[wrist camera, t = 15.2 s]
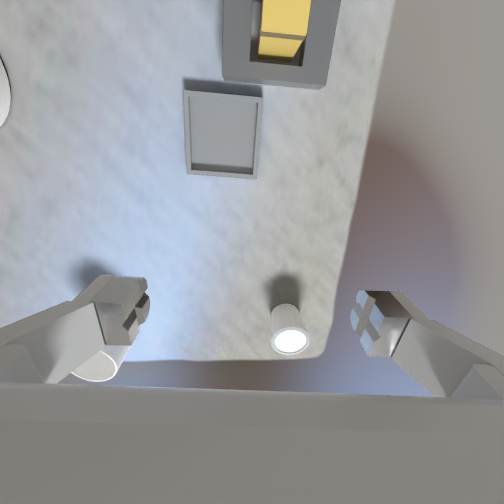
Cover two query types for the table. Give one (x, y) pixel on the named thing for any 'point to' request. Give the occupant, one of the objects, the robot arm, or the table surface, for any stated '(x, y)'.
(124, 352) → the cup
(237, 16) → the grey socket block
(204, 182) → the table surface
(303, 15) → the plug
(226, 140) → the tray
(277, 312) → the white cylinder
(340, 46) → the table surface
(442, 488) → the robot arm
